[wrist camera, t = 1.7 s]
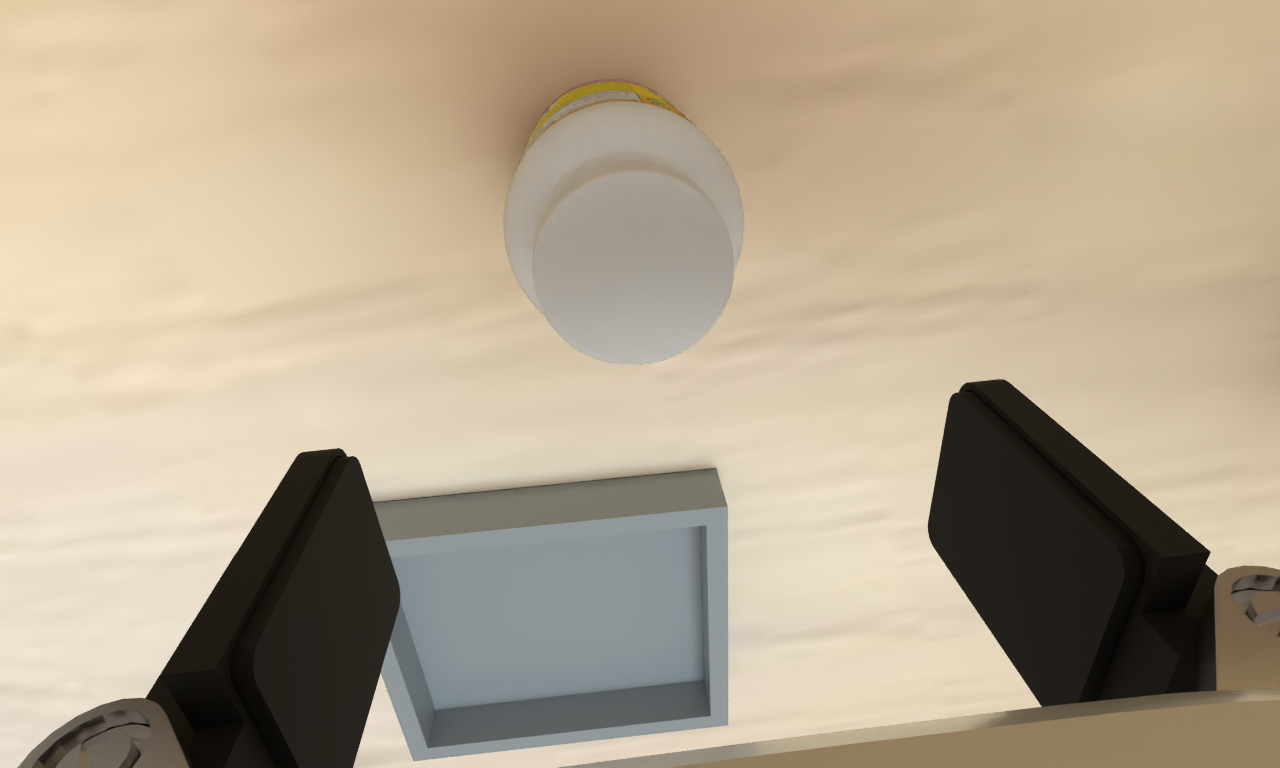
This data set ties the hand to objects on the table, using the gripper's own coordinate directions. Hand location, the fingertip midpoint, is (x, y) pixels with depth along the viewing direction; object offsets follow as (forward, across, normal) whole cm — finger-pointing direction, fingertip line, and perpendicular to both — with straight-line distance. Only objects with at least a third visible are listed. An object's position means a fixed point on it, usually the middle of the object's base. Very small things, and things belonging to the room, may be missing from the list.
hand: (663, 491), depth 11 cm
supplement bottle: (+19, 0, -1) cm, 19 cm away
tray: (+19, +5, +22) cm, 29 cm away
